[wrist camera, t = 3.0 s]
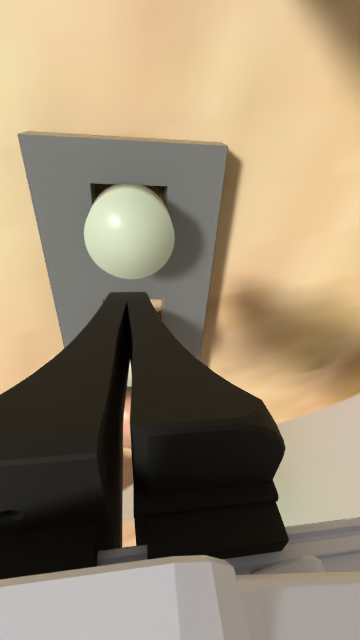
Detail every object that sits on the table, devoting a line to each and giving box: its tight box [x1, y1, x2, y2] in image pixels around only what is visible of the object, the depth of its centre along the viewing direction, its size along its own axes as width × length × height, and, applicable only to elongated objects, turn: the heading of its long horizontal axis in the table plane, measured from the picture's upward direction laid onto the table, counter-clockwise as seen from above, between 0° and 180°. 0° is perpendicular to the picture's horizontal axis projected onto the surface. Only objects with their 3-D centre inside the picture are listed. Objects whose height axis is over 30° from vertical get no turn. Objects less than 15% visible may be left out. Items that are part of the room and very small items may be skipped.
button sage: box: [84, 183, 175, 279], centre depth 16 cm, size 4×4×4 cm
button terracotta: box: [123, 386, 131, 448], centre depth 23 cm, size 4×4×4 cm
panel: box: [18, 131, 228, 360], centre depth 21 cm, size 22×10×2 cm, turn 177°
